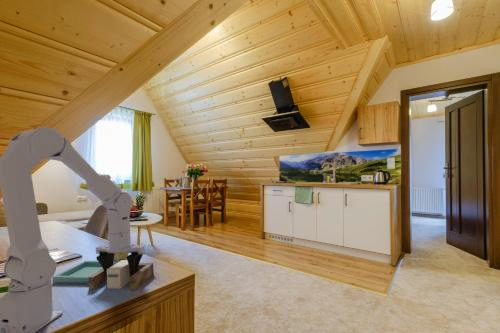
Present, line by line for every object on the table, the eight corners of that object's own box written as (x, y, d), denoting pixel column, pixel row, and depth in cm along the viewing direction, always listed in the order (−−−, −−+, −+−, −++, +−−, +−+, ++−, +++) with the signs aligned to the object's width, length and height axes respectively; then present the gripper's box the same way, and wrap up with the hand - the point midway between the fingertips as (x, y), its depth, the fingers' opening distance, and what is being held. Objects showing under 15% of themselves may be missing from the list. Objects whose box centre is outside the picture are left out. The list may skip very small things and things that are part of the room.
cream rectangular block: (118, 289, 71) (118, 270, 71) (105, 289, 71) (105, 270, 71) (134, 277, 78) (133, 260, 78) (122, 277, 79) (121, 260, 79)
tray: (91, 284, 75) (91, 277, 75) (52, 283, 76) (52, 277, 76) (119, 266, 87) (119, 260, 87) (85, 266, 89) (85, 260, 89)
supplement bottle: (130, 257, 96) (129, 230, 96) (125, 262, 91) (123, 234, 91) (115, 258, 96) (114, 231, 96) (108, 264, 90) (107, 235, 90)
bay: (134, 290, 70) (134, 277, 70) (88, 289, 71) (88, 277, 71) (153, 274, 80) (153, 263, 80) (113, 273, 82) (112, 262, 82)
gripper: (149, 228, 78) (151, 271, 78) (106, 228, 80) (108, 271, 80) (136, 234, 71) (138, 282, 71) (89, 234, 73) (91, 281, 73)
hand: (121, 277), depth 75 cm, fingers open, 7 cm apart
